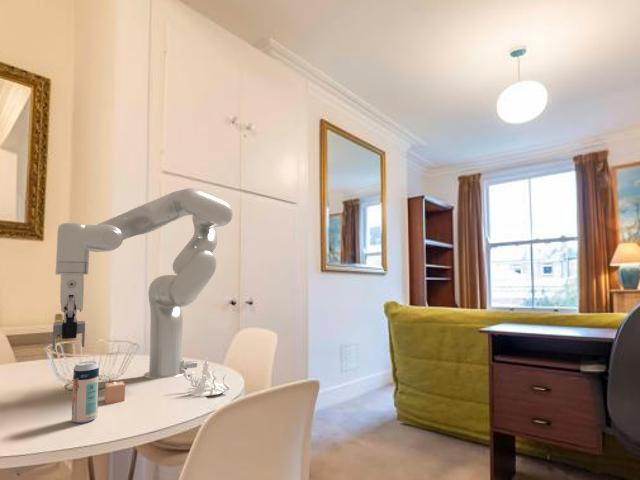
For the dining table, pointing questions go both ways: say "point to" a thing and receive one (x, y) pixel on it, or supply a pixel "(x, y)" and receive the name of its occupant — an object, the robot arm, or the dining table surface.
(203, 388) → the tentacle sculpture
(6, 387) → the dining table surface
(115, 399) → the letter cube
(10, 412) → the dining table surface
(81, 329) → the cover
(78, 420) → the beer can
